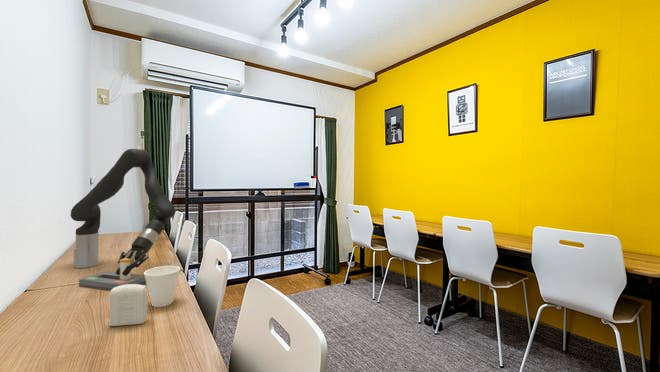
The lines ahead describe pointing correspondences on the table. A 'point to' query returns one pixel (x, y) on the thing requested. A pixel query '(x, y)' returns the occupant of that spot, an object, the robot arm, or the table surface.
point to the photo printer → (128, 305)
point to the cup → (162, 284)
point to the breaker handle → (123, 265)
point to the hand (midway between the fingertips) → (120, 274)
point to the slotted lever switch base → (109, 280)
